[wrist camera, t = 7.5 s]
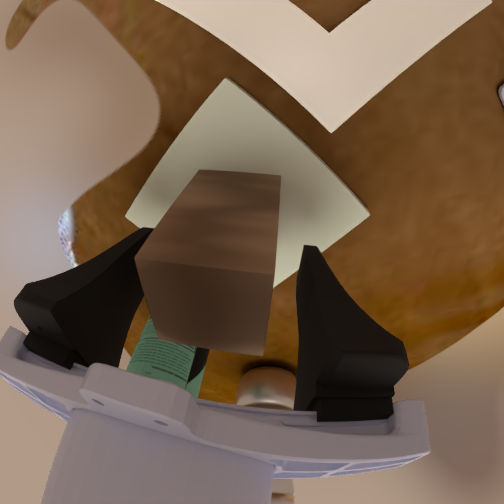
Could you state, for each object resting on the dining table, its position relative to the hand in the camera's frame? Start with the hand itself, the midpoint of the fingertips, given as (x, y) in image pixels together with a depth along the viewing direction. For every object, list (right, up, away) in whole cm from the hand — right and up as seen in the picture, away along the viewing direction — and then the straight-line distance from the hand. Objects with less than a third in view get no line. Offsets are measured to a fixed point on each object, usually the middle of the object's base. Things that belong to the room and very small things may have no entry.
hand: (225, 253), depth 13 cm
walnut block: (0, +3, +3) cm, 4 cm away
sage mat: (+1, +3, +4) cm, 5 cm away
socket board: (+4, +15, -6) cm, 16 cm away
